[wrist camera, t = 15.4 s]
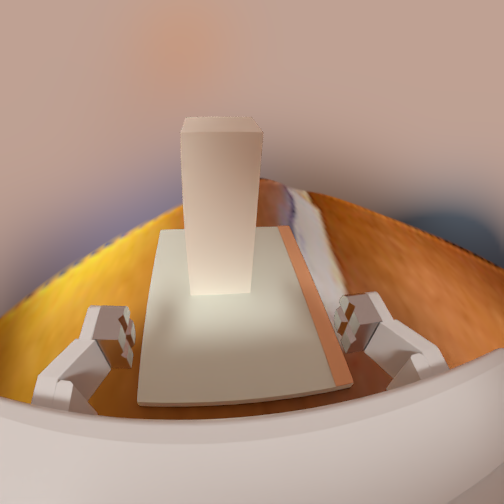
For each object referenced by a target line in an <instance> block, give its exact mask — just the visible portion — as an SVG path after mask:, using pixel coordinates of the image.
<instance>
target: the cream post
mask: <svg viewBox="0 0 504 504" xmlns="http://www.w3.org/2000/svg"><path fill="white" fill-rule="evenodd" d="M180 142H181V172H182V192H183V193H182V194H183V211H184V226H185V240H186V252H187V263H188V274H189V284H190V294H191V295H218V294H240V293H250V292H251V280H252V267H253V255H254V243H255V230H256V218H257V206H258V193H259V181H260V168H261V156H262V143H263V131H262V130H261V129H260V127H259V126H258V125H257V123H256V122H255V121H254V119H253V118H252V117H186V119H185V121H184V124H183V127H182V129H181V132H180Z"/></svg>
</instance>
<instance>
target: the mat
mask: <svg viewBox="0 0 504 504" xmlns="http://www.w3.org/2000/svg"><path fill="white" fill-rule="evenodd" d="M353 383H354V381H353V379H352V376H351V373H350V371H349V368H348V365H347V363H346V360H345V358H344V355H343V353H342V350H341V347H340V345H339V342H338V340H337V337H336V335H335V332H334V330H333V327H332V325H331V322H330V320H329V318H328V315H327V313H326V310H325V308H324V305H323V303H322V301H321V298H320V296H319V293H318V291H317V289H316V286H315V284H314V282H313V279H312V277H311V275H310V272H309V270H308V268H307V265H306V263H305V261H304V258H303V256H302V254H301V252H300V249H299V247H298V245H297V243H296V240H295V238H294V236H293V234H292V231H291V229H290V227H289V226H277V227H256V230H255V243H254V255H253V267H252V280H251V292H250V293H240V294H218V295H191V294H190V284H189V274H188V263H187V252H186V240H185V229H172V230H161V231H160V236H159V241H158V246H157V251H156V256H155V262H154V267H153V273H152V279H151V285H150V291H149V297H148V304H147V311H146V318H145V325H144V333H143V341H142V350H141V359H140V370H139V381H138V394H137V403H138V404H139V406H158V407H189V406H216V405H232V404H245V403H255V402H265V401H273V400H281V399H289V398H296V397H302V396H308V395H314V394H320V393H325V392H331V391H336V390H341V389H345V388H350V387H351V386H352V384H353Z"/></svg>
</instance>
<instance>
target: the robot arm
mask: <svg viewBox="0 0 504 504" xmlns="http://www.w3.org/2000/svg"><path fill="white" fill-rule="evenodd" d="M339 303H340V305H341V306H340V307H339V308H338V309H337V310H336V312H335V315H334V323H335V328H336V330H337V332H338V333H339V334H341V335H342V339H341V343H342V345H343V347H344V350H345V352H346V353H353V352H359V351H364V352H365V353H366V354H367V355H368V356H369V357H370V358H371V359H373V360H374V361H375V362H376V363H377V364H378V365H379V366H380V367H381V368H382V369H383V370H385V371H386V372H387V373H388V374H389V375H390V376H391V377H392V378H393V380H392V381H391V382H390V384H389V385H388V386H387V388H386V390H387V391H384V392H381V393H377V394H373V395H369V396H365V397H361V398H357V399H353V400H349V401H344V402H340V403H335V404H330V405H325V406H320V407H315V408H309V409H303V410H297V411H290V412H283V413H276V414H268V415H259V416H249V417H237V418H222V419H199V420H156V419H134V418H120V417H109V416H99V415H97V412H96V411H95V409H94V408H93V407H92V406H91V405H90V404H89V403H88V400H89V399H90V398H91V396H92V395H93V394H94V392H95V391H96V389H97V388H98V387H99V385H100V384H101V383H102V381H103V380H104V379H105V377H106V376H107V374H108V373H109V372H110V370H111V368H125V369H131V368H132V360H133V352H132V350H131V348H132V347H133V346H134V345H135V326H134V323H133V321H132V320H131V319H130V318H129V317H130V311H129V308H128V307H127V306H95V305H91V306H90V307H89V308H88V310H87V314H86V317H85V320H84V323H83V327H82V330H81V333H80V337H79V339H75V340H74V341H73V342H72V343H71V344H70V345H69V346H68V347H67V348H66V349H65V350H64V351H63V352H62V353H60V354H59V355H58V356H57V357H56V358H55V359H54V360H53V361H52V362H51V363H50V364H49V365H48V366H47V367H46V368H45V369H44V370H43V371H42V372H41V373H40V374H39V375H38V378H37V382H36V386H35V389H34V393H33V398H32V402H31V404H28V403H24V402H20V401H16V400H12V399H8V398H4V397H1V396H0V504H504V348H498V349H495V350H493V351H491V352H489V353H487V354H485V355H483V356H481V357H478V358H476V359H474V360H472V361H469V362H467V363H465V364H462V365H460V366H457V367H455V368H452V369H449V367H448V365H447V363H446V361H445V360H444V358H443V356H442V354H441V352H440V351H439V349H438V347H437V346H435V345H434V344H432V343H431V342H429V341H428V340H426V339H425V338H423V337H422V336H421V335H419V334H418V333H416V332H415V331H413V330H412V329H410V328H409V327H407V326H406V325H404V324H403V323H401V322H400V321H398V320H397V319H396V320H393V318H392V316H391V314H390V313H389V311H388V309H387V307H386V306H385V304H384V302H383V300H382V299H381V297H380V295H379V294H378V293H377V292H367V293H358V294H349V295H343V296H342V297H341V298H340V301H339Z"/></svg>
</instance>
